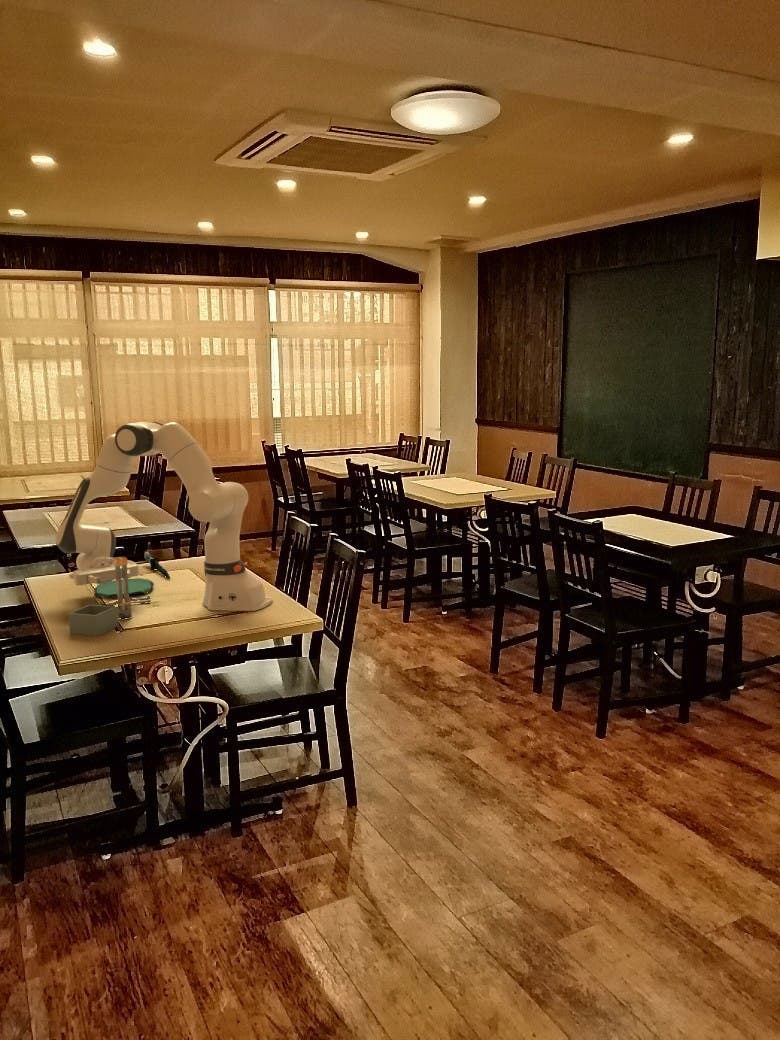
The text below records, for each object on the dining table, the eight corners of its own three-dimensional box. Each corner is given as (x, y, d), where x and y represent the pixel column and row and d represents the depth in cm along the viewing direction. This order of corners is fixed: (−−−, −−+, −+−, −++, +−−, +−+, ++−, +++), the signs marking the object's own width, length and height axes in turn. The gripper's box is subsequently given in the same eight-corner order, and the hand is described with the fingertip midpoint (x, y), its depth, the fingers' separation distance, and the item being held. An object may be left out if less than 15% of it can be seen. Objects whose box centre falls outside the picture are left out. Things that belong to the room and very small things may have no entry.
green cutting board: (153, 581, 290) (152, 575, 289) (157, 605, 262) (156, 598, 262) (94, 587, 284) (94, 581, 283) (93, 612, 256) (92, 605, 255)
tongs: (129, 615, 249) (124, 556, 246) (133, 618, 246) (128, 558, 242) (116, 617, 247) (111, 557, 243) (120, 620, 244) (115, 560, 240)
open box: (118, 625, 239) (116, 606, 238) (97, 636, 230) (96, 616, 229) (91, 623, 242) (89, 604, 240) (69, 633, 233) (68, 613, 231)
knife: (143, 561, 315) (143, 550, 314) (151, 560, 317) (150, 549, 315) (163, 586, 290) (162, 575, 288) (171, 585, 291) (171, 573, 290)
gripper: (66, 565, 256) (78, 574, 245) (129, 556, 268) (143, 563, 257) (68, 584, 258) (80, 593, 246) (131, 574, 269) (145, 582, 258)
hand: (113, 578), depth 252 cm, fingers open, 8 cm apart
